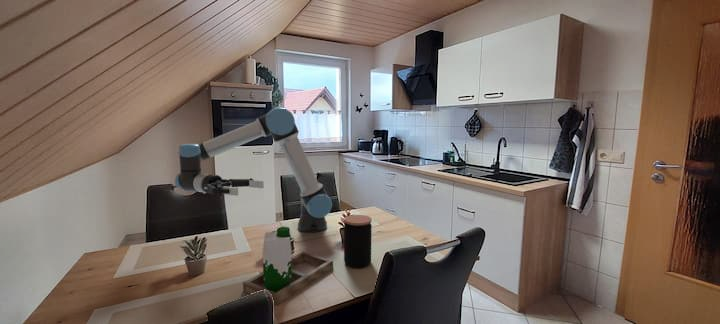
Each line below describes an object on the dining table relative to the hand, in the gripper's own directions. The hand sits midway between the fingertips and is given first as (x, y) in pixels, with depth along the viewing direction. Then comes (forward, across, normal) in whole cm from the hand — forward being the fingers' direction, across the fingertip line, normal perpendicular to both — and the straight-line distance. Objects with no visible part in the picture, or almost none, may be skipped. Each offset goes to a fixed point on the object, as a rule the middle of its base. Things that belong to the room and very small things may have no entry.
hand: (250, 188), depth 114 cm
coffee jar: (+37, -16, -30) cm, 51 cm away
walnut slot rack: (+20, +4, -30) cm, 36 cm away
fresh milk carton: (+19, +10, -30) cm, 37 cm away
